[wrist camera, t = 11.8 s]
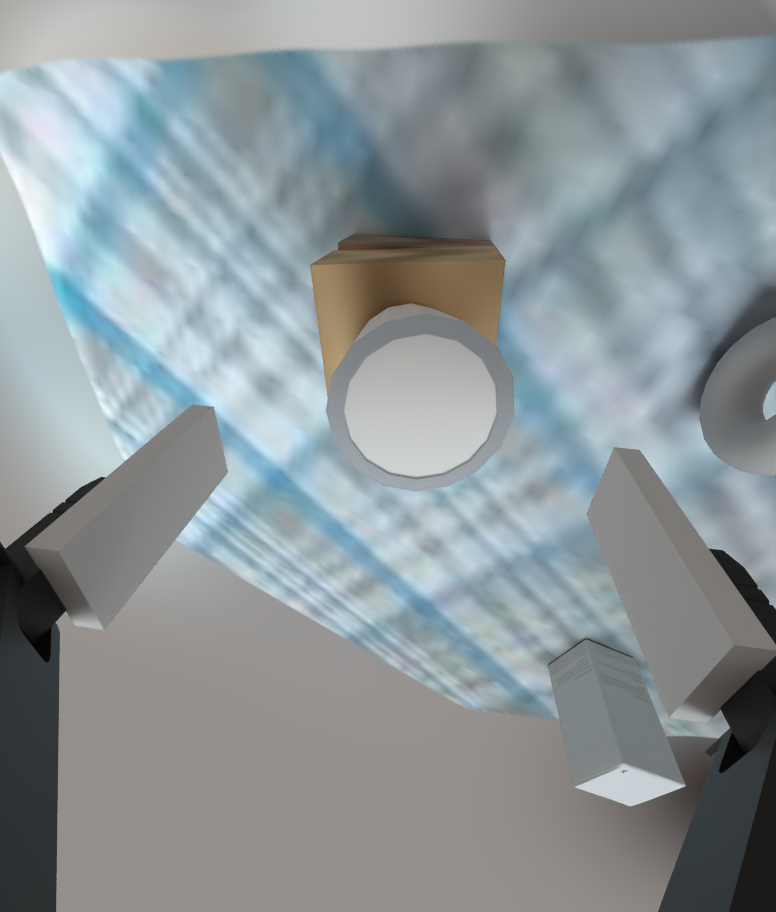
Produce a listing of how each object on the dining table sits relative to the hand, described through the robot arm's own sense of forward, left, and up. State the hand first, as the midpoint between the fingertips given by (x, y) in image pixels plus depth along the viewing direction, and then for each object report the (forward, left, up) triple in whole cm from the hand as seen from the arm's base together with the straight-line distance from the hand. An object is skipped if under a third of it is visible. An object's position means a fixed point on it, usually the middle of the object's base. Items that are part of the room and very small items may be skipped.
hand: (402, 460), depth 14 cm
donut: (-22, +2, -19) cm, 29 cm away
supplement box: (-24, +40, -19) cm, 50 cm away
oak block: (+1, 0, -14) cm, 14 cm away
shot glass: (+1, 0, -9) cm, 9 cm away
